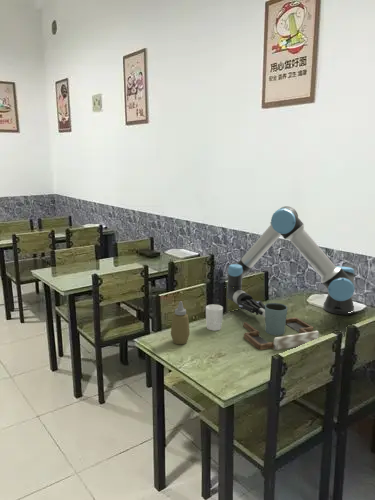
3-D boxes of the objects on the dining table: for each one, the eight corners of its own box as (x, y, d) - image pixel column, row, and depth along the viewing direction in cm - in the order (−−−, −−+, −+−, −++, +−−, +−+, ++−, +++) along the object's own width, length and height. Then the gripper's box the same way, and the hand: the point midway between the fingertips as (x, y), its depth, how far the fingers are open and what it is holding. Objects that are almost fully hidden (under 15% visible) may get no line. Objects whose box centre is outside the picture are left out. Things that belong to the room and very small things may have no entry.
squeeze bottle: (167, 339, 179) (168, 299, 176) (185, 336, 182) (185, 297, 179) (174, 347, 172) (175, 305, 168) (192, 344, 175) (193, 303, 171)
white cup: (221, 332, 188) (222, 311, 186) (203, 330, 190) (204, 309, 188) (223, 325, 196) (224, 305, 194) (206, 323, 197) (207, 303, 195)
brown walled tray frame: (292, 319, 205) (293, 309, 204) (329, 340, 181) (330, 329, 180) (231, 327, 193) (232, 317, 192) (262, 352, 169) (263, 340, 168)
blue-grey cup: (278, 337, 183) (280, 312, 180) (258, 331, 189) (260, 306, 187) (289, 331, 190) (291, 306, 188) (270, 325, 197) (272, 301, 194)
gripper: (253, 305, 217) (279, 321, 196) (231, 307, 213) (255, 324, 191) (254, 291, 216) (280, 306, 194) (232, 293, 211) (255, 309, 190)
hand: (267, 315), depth 193 cm, fingers closed
